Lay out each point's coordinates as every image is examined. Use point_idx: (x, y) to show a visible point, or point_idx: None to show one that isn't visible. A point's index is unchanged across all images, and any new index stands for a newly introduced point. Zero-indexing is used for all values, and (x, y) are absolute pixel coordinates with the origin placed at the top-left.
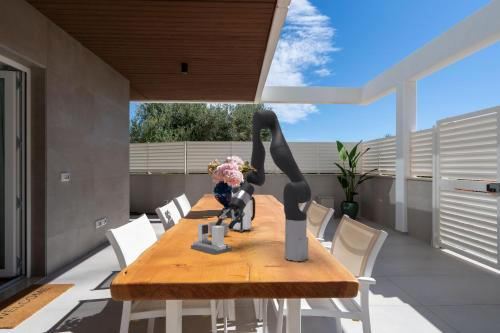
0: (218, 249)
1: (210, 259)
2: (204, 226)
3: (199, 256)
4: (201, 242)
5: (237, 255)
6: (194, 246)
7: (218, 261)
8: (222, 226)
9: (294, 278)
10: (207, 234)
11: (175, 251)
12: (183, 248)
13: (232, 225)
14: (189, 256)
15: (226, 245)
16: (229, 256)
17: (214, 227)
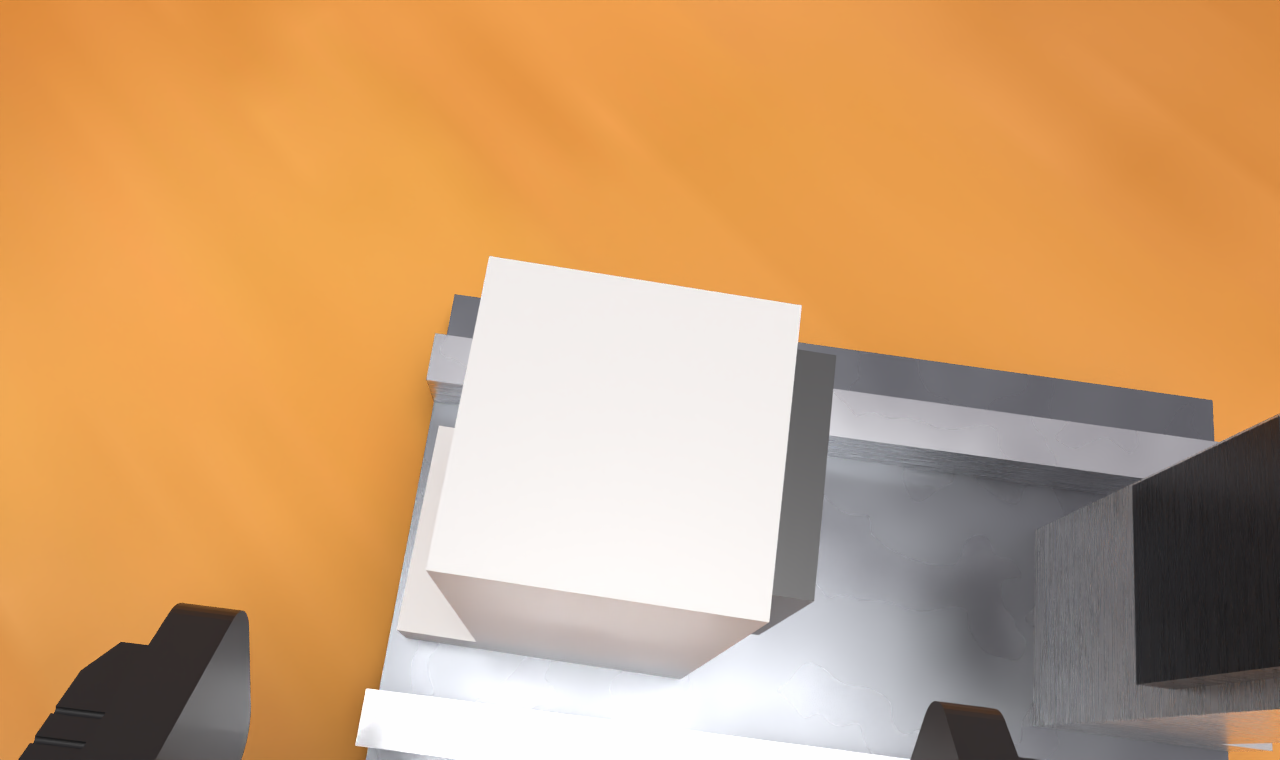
0: (432, 388)
1: (327, 61)
2: (1263, 471)
3: (611, 98)
4: (1074, 518)
5: (31, 554)
6: (1084, 383)
7: (135, 42)
8: (505, 571)
9: None
10: (1152, 690)
11: (1182, 111)
12: (1276, 343)
13: (54, 743)
14: (744, 13)
15: (428, 697)
16: (140, 396)
17: (655, 287)
